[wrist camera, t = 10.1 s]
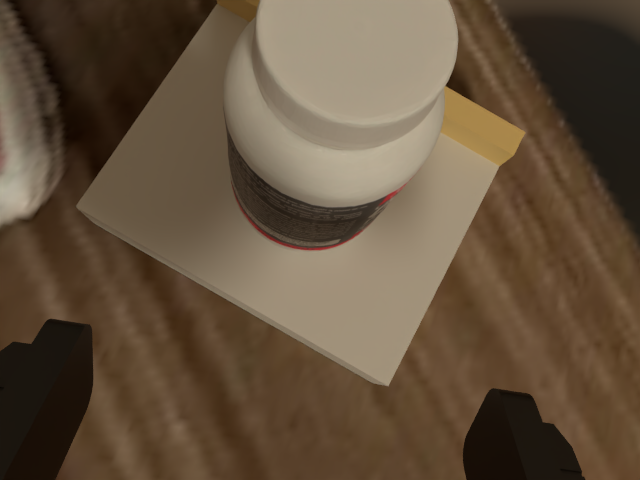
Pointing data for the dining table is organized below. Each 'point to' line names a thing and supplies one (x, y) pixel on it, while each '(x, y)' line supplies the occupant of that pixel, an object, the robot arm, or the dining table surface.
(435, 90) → the pill bottle
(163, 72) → the dining table surface
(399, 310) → the dock
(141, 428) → the dining table surface
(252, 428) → the dining table surface
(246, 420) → the dining table surface
